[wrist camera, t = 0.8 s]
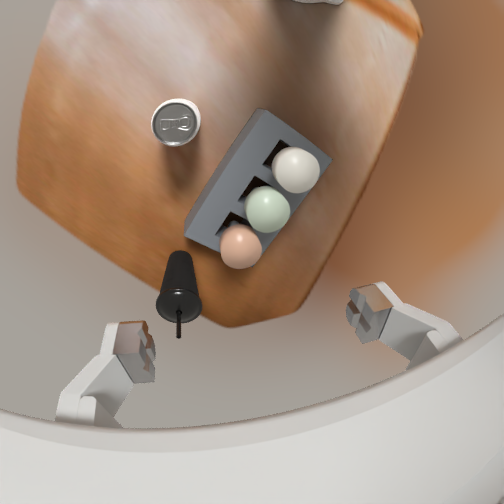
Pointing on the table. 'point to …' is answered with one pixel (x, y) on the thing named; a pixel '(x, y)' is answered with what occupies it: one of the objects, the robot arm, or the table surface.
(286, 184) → the knob
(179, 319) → the drinking cup
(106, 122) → the table surface
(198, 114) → the can
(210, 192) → the mount
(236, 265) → the knob
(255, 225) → the knob mid
